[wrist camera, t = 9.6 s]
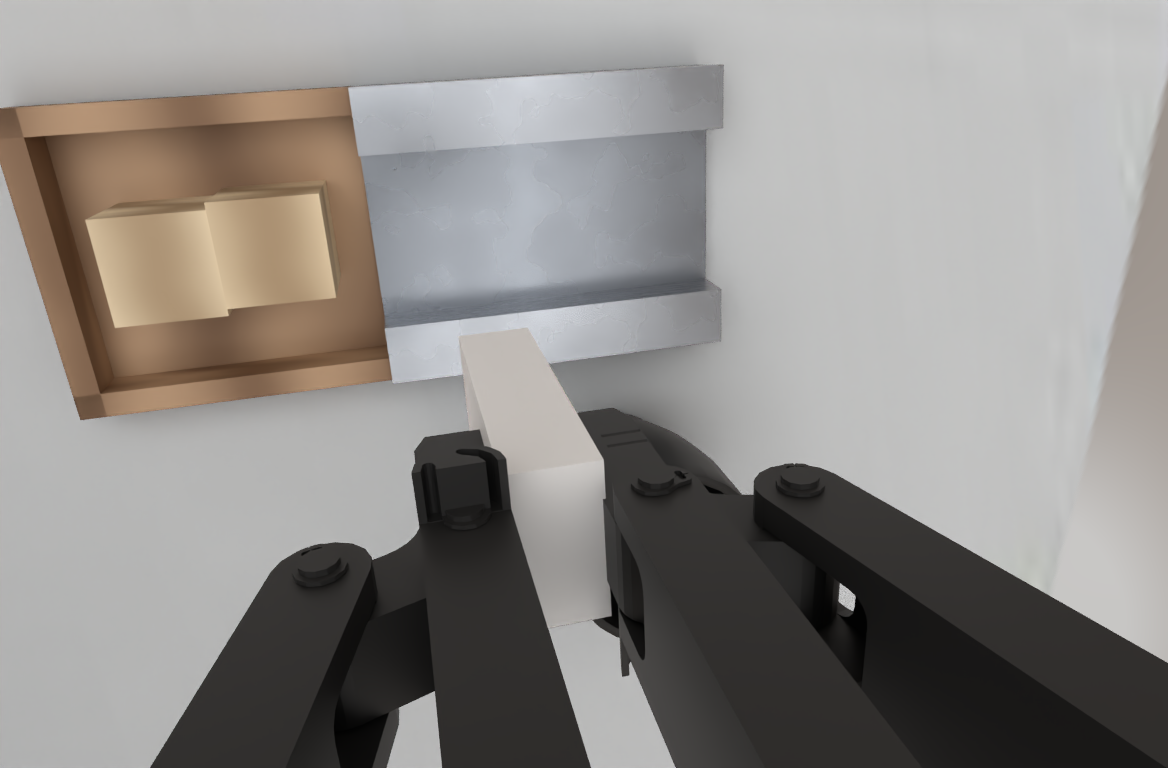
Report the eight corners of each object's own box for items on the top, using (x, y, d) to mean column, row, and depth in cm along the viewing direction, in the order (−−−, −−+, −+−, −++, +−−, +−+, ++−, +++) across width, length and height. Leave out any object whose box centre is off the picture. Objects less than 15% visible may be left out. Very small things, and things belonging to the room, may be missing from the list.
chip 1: (143, 300, 34) (114, 327, 30) (118, 202, 32) (85, 220, 29) (244, 289, 35) (229, 315, 31) (224, 194, 33) (205, 210, 29)
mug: (466, 380, 39) (490, 469, 30) (698, 392, 42) (780, 476, 33) (451, 530, 42) (470, 651, 33) (671, 531, 45) (740, 641, 36)
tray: (99, 397, 35) (80, 420, 33) (12, 106, 31) (-17, 110, 29) (392, 361, 38) (393, 379, 36) (350, 86, 33) (348, 87, 31)
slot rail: (392, 361, 38) (393, 384, 35) (350, 86, 33) (348, 87, 31) (697, 322, 41) (720, 341, 38) (697, 64, 36) (723, 64, 33)
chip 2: (243, 283, 34) (227, 309, 31) (223, 187, 33) (203, 202, 29) (340, 274, 35) (336, 298, 32) (325, 179, 34) (318, 193, 30)
